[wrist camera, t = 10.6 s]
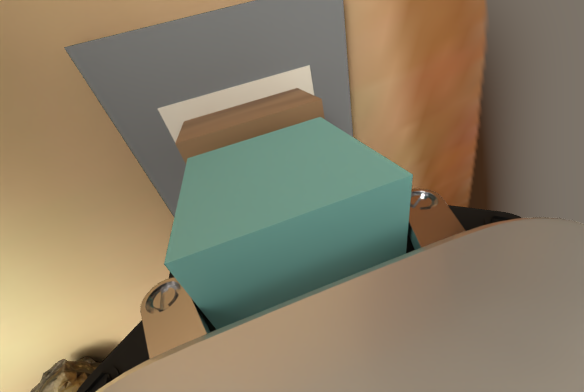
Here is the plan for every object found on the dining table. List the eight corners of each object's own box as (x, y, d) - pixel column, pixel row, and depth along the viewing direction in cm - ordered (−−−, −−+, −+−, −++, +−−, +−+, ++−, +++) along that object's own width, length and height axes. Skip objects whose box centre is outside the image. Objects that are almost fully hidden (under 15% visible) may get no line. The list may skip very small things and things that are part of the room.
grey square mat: (74, 47, 12) (62, 47, 11) (333, -17, 13) (342, -22, 12) (206, 258, 21) (206, 268, 20) (353, 205, 22) (359, 212, 21)
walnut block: (183, 121, 14) (174, 143, 11) (297, 87, 15) (321, 99, 11) (227, 213, 18) (231, 250, 14) (315, 182, 19) (337, 211, 15)
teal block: (187, 158, 10) (164, 264, 5) (320, 116, 11) (412, 174, 6) (236, 253, 13) (250, 372, 8) (335, 217, 14) (401, 307, 9)
